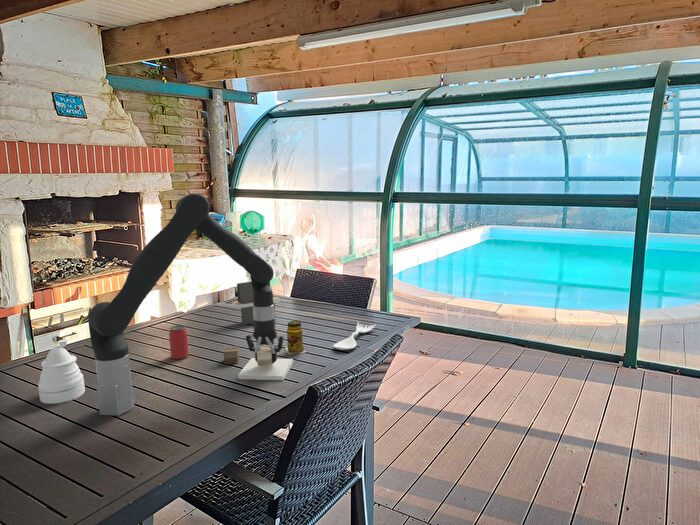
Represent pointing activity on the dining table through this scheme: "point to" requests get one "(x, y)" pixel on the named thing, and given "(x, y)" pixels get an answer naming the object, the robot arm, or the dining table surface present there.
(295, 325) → the condiment
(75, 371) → the honey pot
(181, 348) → the beer can
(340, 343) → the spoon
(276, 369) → the stone board
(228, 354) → the walnut cube
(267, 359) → the birch cube
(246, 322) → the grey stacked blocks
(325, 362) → the dining table surface
